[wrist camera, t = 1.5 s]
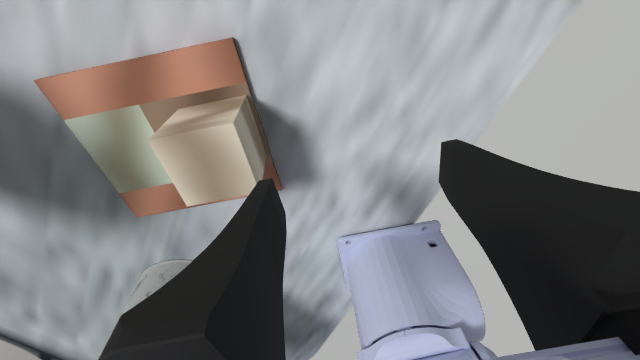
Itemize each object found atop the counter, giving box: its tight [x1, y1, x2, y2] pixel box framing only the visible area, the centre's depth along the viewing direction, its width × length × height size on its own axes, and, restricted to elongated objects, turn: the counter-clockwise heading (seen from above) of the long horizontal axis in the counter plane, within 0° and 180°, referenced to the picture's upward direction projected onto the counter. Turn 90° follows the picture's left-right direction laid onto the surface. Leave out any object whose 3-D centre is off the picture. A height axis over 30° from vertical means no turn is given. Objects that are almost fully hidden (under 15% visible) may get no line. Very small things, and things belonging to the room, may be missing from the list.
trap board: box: [34, 38, 281, 217], centre depth 19 cm, size 12×11×1 cm
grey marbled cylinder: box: [97, 259, 193, 360], centre depth 24 cm, size 10×10×12 cm
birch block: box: [148, 95, 267, 207], centre depth 17 cm, size 4×4×4 cm
